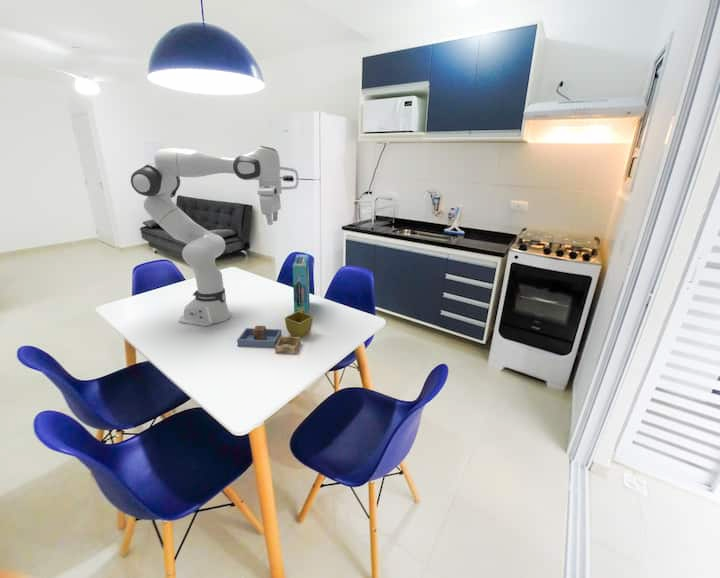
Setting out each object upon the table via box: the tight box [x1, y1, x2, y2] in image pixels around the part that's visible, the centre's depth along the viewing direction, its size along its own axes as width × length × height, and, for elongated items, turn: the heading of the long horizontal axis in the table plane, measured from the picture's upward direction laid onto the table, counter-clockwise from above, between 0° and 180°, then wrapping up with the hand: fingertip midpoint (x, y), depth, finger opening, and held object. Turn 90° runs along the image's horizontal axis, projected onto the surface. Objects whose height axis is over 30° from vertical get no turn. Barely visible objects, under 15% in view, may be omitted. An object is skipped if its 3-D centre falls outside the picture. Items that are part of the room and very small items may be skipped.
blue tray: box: [236, 327, 283, 349], centre depth 137 cm, size 15×10×4 cm
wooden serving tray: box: [274, 335, 302, 355], centre depth 132 cm, size 8×8×4 cm
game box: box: [292, 254, 310, 315], centre depth 164 cm, size 20×6×27 cm, turn 5°
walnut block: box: [253, 325, 267, 340], centre depth 137 cm, size 4×4×6 cm
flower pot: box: [284, 311, 314, 339], centre depth 143 cm, size 9×9×9 cm
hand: (272, 222), depth 141 cm, fingers open, 8 cm apart
